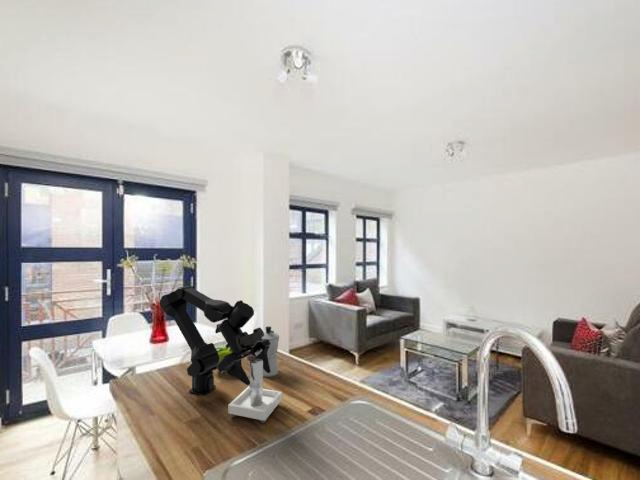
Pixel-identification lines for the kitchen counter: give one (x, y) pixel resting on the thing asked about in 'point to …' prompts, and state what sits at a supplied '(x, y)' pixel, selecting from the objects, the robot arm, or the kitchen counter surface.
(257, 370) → the cylinder
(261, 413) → the white square tray
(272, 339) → the coffee maker
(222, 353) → the fruit
